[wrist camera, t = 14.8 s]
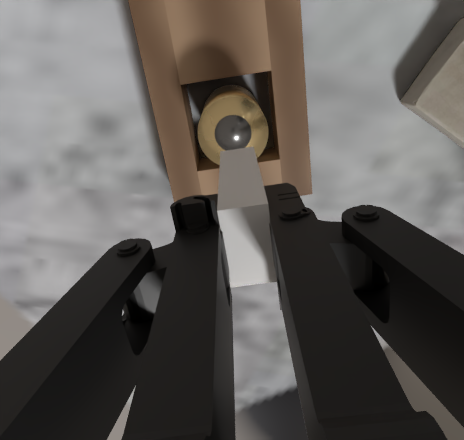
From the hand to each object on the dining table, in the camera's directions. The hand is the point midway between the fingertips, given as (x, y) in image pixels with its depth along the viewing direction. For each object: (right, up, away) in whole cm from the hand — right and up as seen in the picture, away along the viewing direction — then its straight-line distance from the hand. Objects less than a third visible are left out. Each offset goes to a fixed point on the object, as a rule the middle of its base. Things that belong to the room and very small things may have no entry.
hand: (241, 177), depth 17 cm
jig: (-1, +11, +15) cm, 19 cm away
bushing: (-1, +8, +17) cm, 18 cm away
